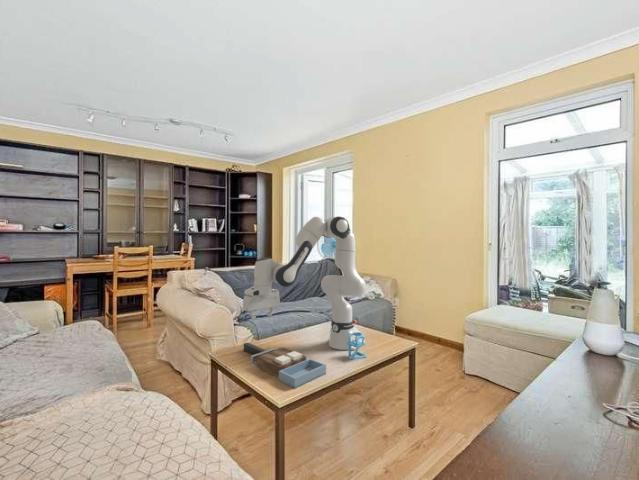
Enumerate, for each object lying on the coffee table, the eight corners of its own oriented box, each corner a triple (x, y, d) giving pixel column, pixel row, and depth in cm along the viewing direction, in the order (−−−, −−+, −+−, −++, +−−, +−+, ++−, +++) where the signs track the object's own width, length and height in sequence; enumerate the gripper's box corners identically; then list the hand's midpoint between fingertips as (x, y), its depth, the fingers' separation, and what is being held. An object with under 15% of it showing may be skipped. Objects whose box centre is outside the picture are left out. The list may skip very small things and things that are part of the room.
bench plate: (283, 357, 160) (283, 347, 160) (306, 367, 149) (306, 356, 149) (257, 367, 148) (257, 356, 148) (279, 378, 137) (280, 366, 137)
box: (309, 366, 149) (310, 358, 149) (325, 373, 143) (326, 364, 142) (278, 380, 135) (278, 371, 135) (294, 388, 129) (295, 378, 128)
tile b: (283, 358, 146) (283, 355, 146) (290, 361, 143) (290, 358, 143) (274, 361, 142) (274, 358, 142) (282, 364, 139) (282, 361, 139)
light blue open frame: (344, 356, 163) (345, 333, 163) (356, 352, 168) (356, 330, 168) (355, 361, 157) (356, 337, 157) (367, 357, 162) (367, 333, 162)
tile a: (294, 354, 151) (294, 351, 151) (301, 357, 148) (301, 354, 148) (286, 357, 148) (286, 353, 148) (293, 360, 144) (293, 356, 144)
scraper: (232, 354, 162) (232, 346, 162) (257, 346, 174) (258, 339, 174) (252, 365, 150) (253, 356, 150) (279, 355, 162) (279, 347, 162)
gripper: (275, 287, 168) (274, 313, 168) (241, 291, 154) (240, 319, 154) (283, 289, 164) (282, 316, 164) (248, 292, 149) (247, 322, 149)
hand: (261, 317), depth 159 cm, fingers open, 8 cm apart
